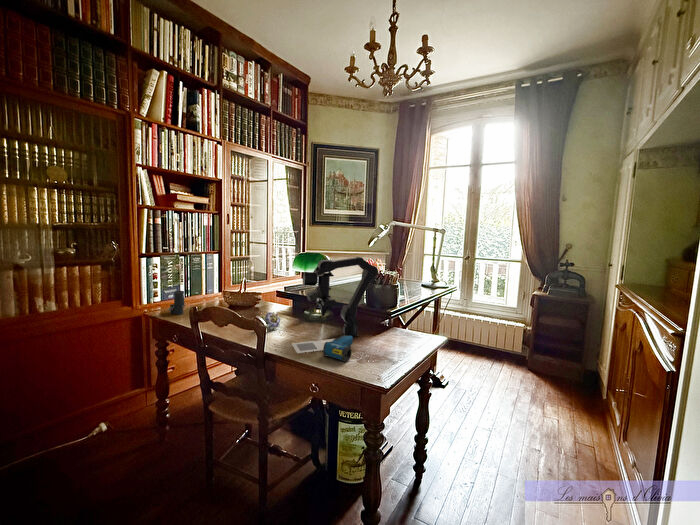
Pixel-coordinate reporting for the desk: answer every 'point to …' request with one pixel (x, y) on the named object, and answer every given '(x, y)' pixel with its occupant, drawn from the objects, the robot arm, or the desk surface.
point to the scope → (177, 303)
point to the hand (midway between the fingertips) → (322, 315)
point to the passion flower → (272, 320)
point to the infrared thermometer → (339, 348)
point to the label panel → (310, 346)
